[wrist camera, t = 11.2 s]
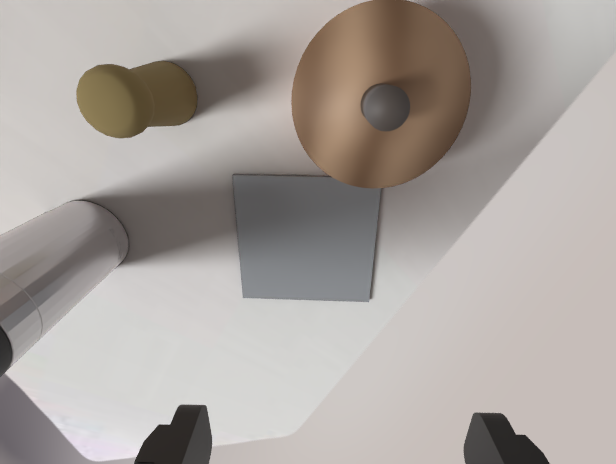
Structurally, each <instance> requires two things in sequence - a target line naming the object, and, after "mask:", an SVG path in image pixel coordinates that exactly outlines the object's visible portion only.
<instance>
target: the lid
mask: <svg viewBox="0 0 616 464" xmlns="http://www.w3.org/2000/svg"><path fill="white" fill-rule="evenodd" d="M470 94H471V77H470V70H469V64H468V61H467V57H466V54H465V51H464V49H463V47H462V44H461V42H460V41H459V39H458V37H457V36H456V34H455V32H454V31H453V30H452V29H451V28H450V26H449V25H448V24H447V23H446V22H445V21H444V20H443V19H442V18H440V17H439V16H438V15H437V14H436V13H434V12H432V11H431V10H429V9H427V8H426V7H424V6H421V5H419V4H416V3H414V2H410V1H405V0H372V1H368V2H364V3H361V4H358V5H356V6H353V7H351V8H349V9H347V10H345V11H343V12H342V13H340V14H338V15H337V16H336V17H334V18H333V19H332V20H330V21H329V22H328V23H327V24H326V25H325V26H324V27H323V28H322V29H321V30H320V31H319V32H318V33H317V34H316V35H315V37H314V38H313V39H312V41H311V42H310V43H309V45H308V47H307V48H306V50H305V52H304V53H303V55H302V58H301V60H300V62H299V65H298V67H297V71H296V74H295V77H294V82H293V88H292V103H291V104H292V116H293V121H294V126H295V129H296V132H297V135H298V138H299V140H300V142H301V144H302V146H303V148H304V150H305V151H306V153H307V154H308V156H309V157H310V158H311V159H312V160H313V162H314V163H315V164H316V165H317V166H318V167H319V168H320V169H322V170H323V171H324V172H325V173H327V174H328V175H330V176H331V177H333V178H334V179H336V180H338V181H340V182H343V183H345V184H348V185H351V186H356V187H361V188H371V189H374V188H386V187H392V186H396V185H399V184H403V183H405V182H408V181H410V180H412V179H414V178H416V177H418V176H420V175H421V174H423V173H424V172H426V171H427V170H429V169H430V168H431V167H433V166H434V165H435V164H436V163H437V162H438V161H439V160H440V159H441V158H442V157H443V156H444V155H445V154H446V152H447V151H448V150H449V149H450V147H451V146H452V144H453V143H454V141H455V140H456V138H457V136H458V134H459V132H460V130H461V128H462V126H463V123H464V121H465V118H466V115H467V111H468V107H469V102H470Z"/></svg>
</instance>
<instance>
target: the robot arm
mask: <svg viewBox="0 0 616 464" xmlns="http://www.w3.org/2000/svg"><path fill="white" fill-rule="evenodd" d="M127 252H128V237H127V234H126V232H125V229H124V228H123V226H122V224H121V223H120V222H119V220H118V219H117V218H116V217H115V216H114V215H113V214H112V213H110V212H109V211H108V210H106V209H105V208H103V207H101V206H99V205H97V204H94V203H91V202H87V201H71V202H67V203H65V204H63V205H61V206H59V207H57V208H55V209H53V210H51V211H49V212H45V213H43V214H41V215H39V216H37V217H35V218H33V219H31V220H29V221H28V222H26V223H24V224H22V225H20V226H18V227H16V228H14V229H12V230H10V231H8V232H6V233H4V234H2V235H0V377H1V376H2V375H3V374H4V373H5V372H6V371H7V370H8V369H9V368H10V367H11V366H12V365H13V364H14V363H15V362H16V361H17V360H18V359H20V358H21V357H22V356H23V355H24V354H25V353H26V352H27V351H28V350H29V349H30V348H31V347H32V346H33V345H34V344H35V343H36V342H37V341H38V340H39V339H40V338H42V337H43V336H44V335H45V334H46V333H47V332H48V331H49V330H50V329H51V328H52V327H53V326H54V325H55V324H56V323H57V322H59V321H60V320H61V319H62V318H63V317H64V316H65V315H66V314H67V313H68V312H69V311H70V310H71V309H72V308H73V307H74V306H75V305H77V304H78V303H79V302H80V301H81V300H82V299H83V298H84V297H85V296H86V295H87V294H88V293H89V292H90V291H91V290H92V289H94V288H95V287H96V286H97V285H98V284H99V283H100V282H101V281H102V280H103V279H104V278H105V277H106V276H107V275H108V274H109V273H111V272H112V271H113V270H114V269H115V268H116V267H117V266H118V265H119V264H120V263H121V262H122V261H123V260H124V258H125V257H126V254H127ZM211 449H212V435H211V429H210V423H209V417H208V412H207V407H206V405H180V406H179V407H178V408H177V410H176V412H175V415H174V417H173V420H172V422H171V424H170V425H158V426H157V427H156V429H155V430H154V431H153V432H152V433H151V434H150V435H149V436H148V438H147V439H146V440H145V441H144V442H143V445H142V447H141V449H140V451H139V453H138V455H137V457H136V460H135V462H134V464H209V460H210V455H211ZM464 458H465V463H466V464H549V462H548V460H547V459H546V457H545V455H544V454H543V452H541V450H540V449H539V448H538V447H537V446H535V445H534V443H533V442H532V441H531V440H530V439H529V438H528V437H527V436H526V435H516V434H515V432H514V430H513V428H512V427H511V425H510V423H509V421H508V420H507V418H506V417H505V416H504V415H503V414H501V413H474V414H473V416H472V419H471V423H470V426H469V430H468V433H467V436H466V440H465V444H464Z"/></svg>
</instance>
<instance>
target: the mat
mask: <svg viewBox="0 0 616 464" xmlns="http://www.w3.org/2000/svg"><path fill="white" fill-rule="evenodd" d="M233 187H234V199H235V211H236V222H237V234H238V245H239V257H240V269H241V280H242V292H243V298H262V299H293V300H324V301H354V302H369V298H370V288H371V279H372V269H373V260H374V250H375V241H376V231H377V222H378V212H379V202H380V193H381V188H374V189H371V188H361V187H356V186H351V185H348V184H345V183H343V182H340V181H338V180H336V179H334V178H333V177H331V176H290V175H242V174H233Z"/></svg>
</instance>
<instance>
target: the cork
mask: <svg viewBox="0 0 616 464" xmlns="http://www.w3.org/2000/svg"><path fill="white" fill-rule="evenodd" d="M76 92H77V103H78V106H79V109H80V112H81V113H82V115H83V116H84V118H85V119H86V121H87V122H88V123H89V124H91V125H92V126H93V127H94V128H95V129H96V130H98V131H99V132H101V133H103V134H105V135H107V136H111V137H115V138H130V137H133V136H135V135H138V134H140V133H142V132H143V131H144V130H145V129H146V128H147V127H154V126H176V125H181V124H183V123H185V122H187V121H188V120H189V119H190V118H191V117H192V116H193V114H194V112H195V110H196V107H197V92H196V87H195V85H194V83H193V81H192V79H191V77H190V76H189V75H188V74H187V73H186V72H185V71H184V70H183V69H182V68H181V67H179V66H177V65H176V64H174V63H170V62H166V61H158V62H152V63H149V64H146V65H142V66H139V67H136V68H132V69H127V68H125V67H122V66H118V65H114V64H105V65H97V66H96V67H94V68H92V69H90V70H88V71H86V72H85V73H84V75H83V76H82V77H81V78H80V80H79V84H78V87H77V91H76Z"/></svg>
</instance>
